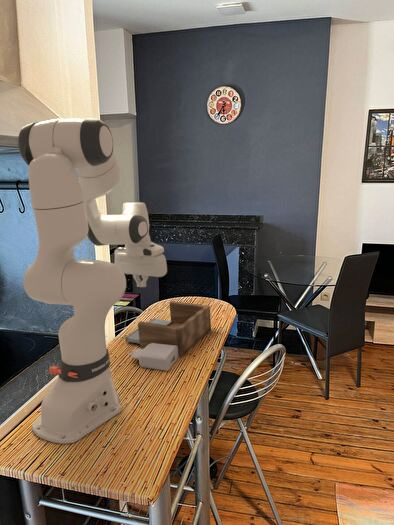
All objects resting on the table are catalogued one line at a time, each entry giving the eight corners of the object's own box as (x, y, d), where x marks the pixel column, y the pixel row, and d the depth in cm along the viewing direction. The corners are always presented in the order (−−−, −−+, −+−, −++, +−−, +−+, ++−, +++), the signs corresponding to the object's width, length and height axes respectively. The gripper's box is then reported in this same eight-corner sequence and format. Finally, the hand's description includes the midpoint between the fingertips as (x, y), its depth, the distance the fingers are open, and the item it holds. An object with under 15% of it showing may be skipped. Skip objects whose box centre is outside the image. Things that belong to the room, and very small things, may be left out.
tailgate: (144, 341, 135) (125, 337, 139) (144, 344, 136) (125, 340, 139) (171, 321, 151) (153, 318, 155) (171, 324, 151) (154, 321, 155)
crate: (181, 357, 127) (179, 329, 125) (140, 349, 135) (137, 323, 132) (211, 330, 146) (209, 305, 144) (173, 324, 153) (171, 301, 151)
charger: (137, 352, 133) (178, 357, 128) (123, 366, 125) (167, 372, 119) (135, 339, 132) (177, 344, 127) (121, 352, 123) (165, 358, 118)
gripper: (108, 248, 140) (112, 286, 144) (157, 251, 131) (161, 291, 134) (119, 245, 146) (123, 281, 149) (167, 247, 136) (170, 286, 140)
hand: (141, 286), depth 142 cm, fingers closed
